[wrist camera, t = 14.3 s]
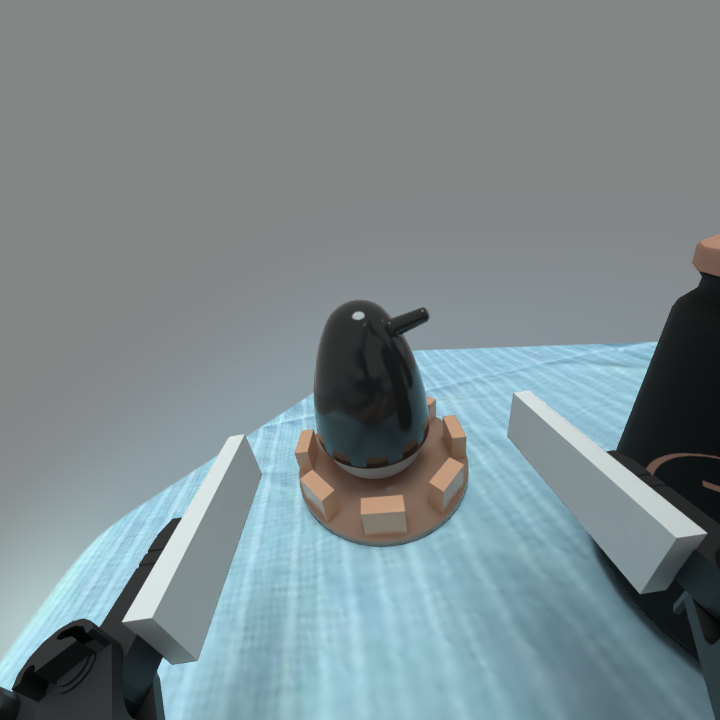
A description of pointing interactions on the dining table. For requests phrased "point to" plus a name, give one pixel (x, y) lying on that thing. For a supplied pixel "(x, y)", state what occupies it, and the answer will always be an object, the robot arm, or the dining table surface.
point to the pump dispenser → (370, 390)
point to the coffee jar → (681, 421)
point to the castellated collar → (388, 488)
